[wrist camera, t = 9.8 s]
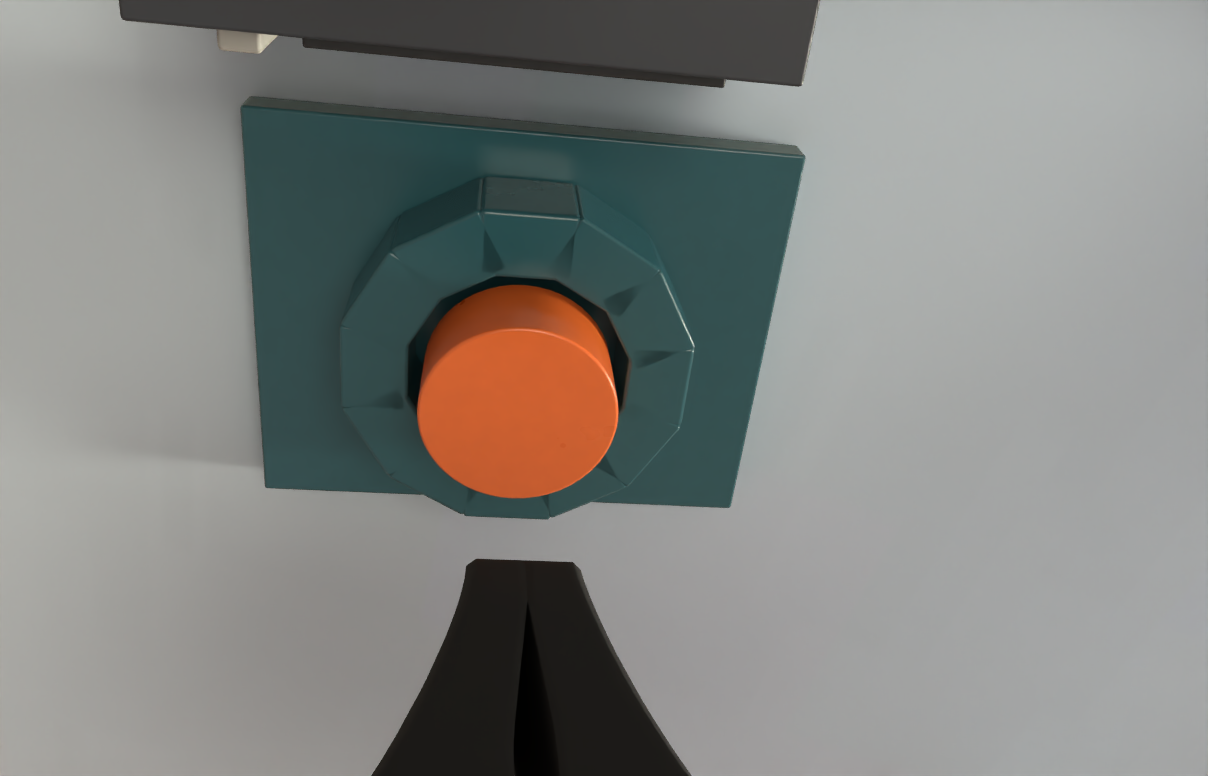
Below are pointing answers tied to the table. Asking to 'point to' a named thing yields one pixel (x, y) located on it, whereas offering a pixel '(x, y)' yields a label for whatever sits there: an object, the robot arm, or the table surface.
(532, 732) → the robot arm
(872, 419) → the table surface
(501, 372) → the button
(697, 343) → the control pad
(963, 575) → the table surface
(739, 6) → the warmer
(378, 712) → the table surface
